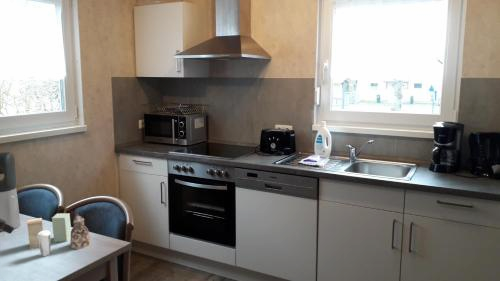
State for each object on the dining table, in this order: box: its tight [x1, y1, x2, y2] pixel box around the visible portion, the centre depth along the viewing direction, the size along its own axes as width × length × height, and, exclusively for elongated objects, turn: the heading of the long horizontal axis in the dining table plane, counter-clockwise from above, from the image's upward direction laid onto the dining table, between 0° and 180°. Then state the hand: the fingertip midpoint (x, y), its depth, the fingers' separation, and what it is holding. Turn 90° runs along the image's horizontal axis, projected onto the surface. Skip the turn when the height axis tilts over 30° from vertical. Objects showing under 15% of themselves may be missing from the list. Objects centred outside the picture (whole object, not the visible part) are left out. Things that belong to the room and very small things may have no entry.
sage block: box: [51, 212, 72, 243], centre depth 165 cm, size 5×5×10 cm
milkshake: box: [34, 229, 51, 257], centre depth 152 cm, size 4×5×10 cm
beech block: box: [26, 217, 44, 250], centre depth 160 cm, size 5×5×10 cm
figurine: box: [70, 213, 91, 250], centre depth 160 cm, size 7×7×12 cm
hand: (7, 227), depth 142 cm, fingers open, 8 cm apart
